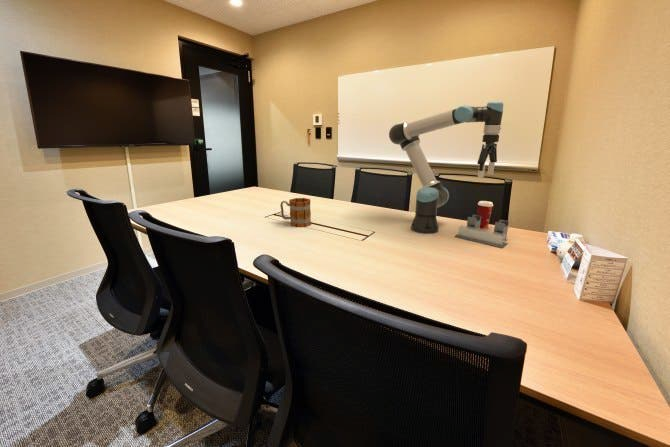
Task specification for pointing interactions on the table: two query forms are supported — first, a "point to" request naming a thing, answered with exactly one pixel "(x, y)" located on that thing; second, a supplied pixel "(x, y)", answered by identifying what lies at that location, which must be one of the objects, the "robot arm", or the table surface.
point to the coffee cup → (484, 213)
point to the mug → (298, 212)
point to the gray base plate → (481, 241)
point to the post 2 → (501, 227)
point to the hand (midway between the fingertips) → (485, 175)
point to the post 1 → (474, 221)
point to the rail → (481, 235)
